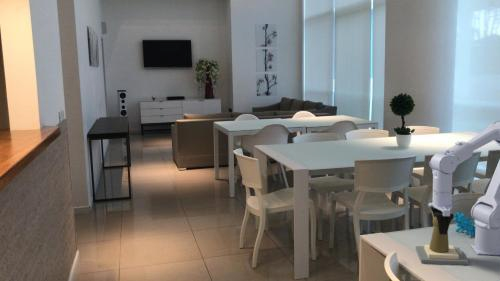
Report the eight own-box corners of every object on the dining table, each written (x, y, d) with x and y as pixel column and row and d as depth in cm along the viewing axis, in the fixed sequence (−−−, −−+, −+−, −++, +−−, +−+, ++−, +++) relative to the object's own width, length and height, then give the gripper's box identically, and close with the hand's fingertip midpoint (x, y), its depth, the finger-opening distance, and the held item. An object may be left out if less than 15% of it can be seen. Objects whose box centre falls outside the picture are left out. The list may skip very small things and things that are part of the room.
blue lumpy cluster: (466, 235, 171) (451, 211, 177) (455, 243, 175) (440, 219, 181) (485, 233, 177) (470, 210, 182) (473, 241, 181) (459, 218, 186)
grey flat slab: (458, 250, 161) (459, 243, 161) (468, 265, 150) (468, 257, 149) (415, 249, 164) (415, 242, 164) (421, 263, 152) (421, 255, 152)
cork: (426, 245, 159) (428, 214, 158) (443, 245, 160) (445, 213, 158) (434, 252, 153) (436, 219, 152) (452, 252, 154) (455, 219, 152)
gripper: (425, 185, 161) (424, 223, 163) (433, 196, 147) (432, 238, 149) (447, 185, 160) (446, 224, 162) (457, 196, 146) (456, 239, 148)
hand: (441, 231), depth 156 cm, fingers closed on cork, 5 cm apart
